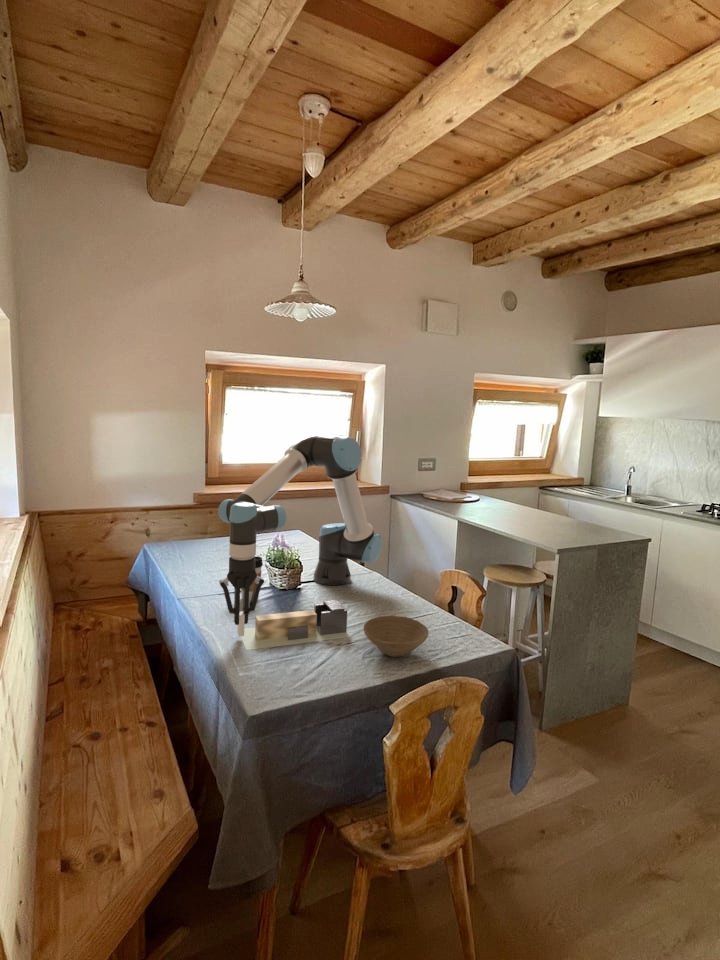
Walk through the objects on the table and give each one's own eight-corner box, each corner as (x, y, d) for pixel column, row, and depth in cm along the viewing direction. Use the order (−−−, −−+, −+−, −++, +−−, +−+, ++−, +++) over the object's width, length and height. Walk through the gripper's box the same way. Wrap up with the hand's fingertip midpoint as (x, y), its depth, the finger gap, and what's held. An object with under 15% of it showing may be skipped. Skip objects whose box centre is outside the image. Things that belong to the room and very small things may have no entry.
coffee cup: (256, 603, 186) (257, 562, 184) (234, 601, 188) (234, 559, 186) (265, 595, 194) (266, 556, 193) (243, 593, 196) (244, 553, 194)
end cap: (321, 635, 162) (322, 610, 161) (313, 625, 169) (314, 601, 168) (346, 632, 165) (347, 608, 164) (337, 622, 172) (338, 599, 171)
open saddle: (299, 625, 168) (299, 615, 168) (308, 637, 160) (308, 626, 159) (280, 627, 166) (281, 617, 165) (288, 640, 157) (288, 629, 157)
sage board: (334, 619, 176) (334, 618, 176) (351, 637, 162) (351, 636, 162) (237, 630, 164) (237, 629, 163) (246, 651, 150) (246, 650, 150)
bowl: (408, 676, 140) (410, 647, 139) (350, 656, 150) (351, 629, 149) (436, 651, 156) (438, 625, 155) (382, 634, 165) (383, 610, 164)
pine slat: (312, 628, 167) (312, 609, 166) (316, 633, 163) (316, 614, 162) (255, 634, 160) (255, 615, 159) (257, 640, 156) (258, 620, 156)
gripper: (262, 551, 159) (260, 626, 162) (217, 554, 154) (216, 631, 157) (267, 558, 152) (265, 636, 155) (221, 561, 147) (219, 642, 150)
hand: (240, 634), depth 156 cm, fingers closed
